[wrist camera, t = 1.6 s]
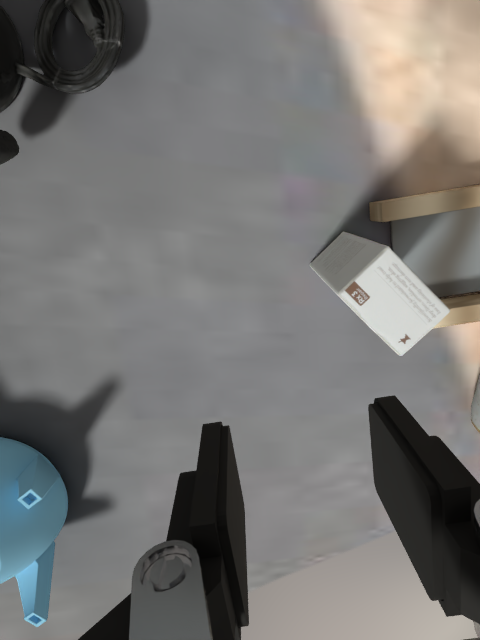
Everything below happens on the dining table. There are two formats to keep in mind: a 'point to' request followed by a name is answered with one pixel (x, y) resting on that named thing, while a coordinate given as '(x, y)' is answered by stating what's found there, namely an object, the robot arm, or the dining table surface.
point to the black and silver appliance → (8, 64)
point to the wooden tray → (439, 244)
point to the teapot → (29, 523)
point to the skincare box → (380, 290)
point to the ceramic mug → (476, 407)
